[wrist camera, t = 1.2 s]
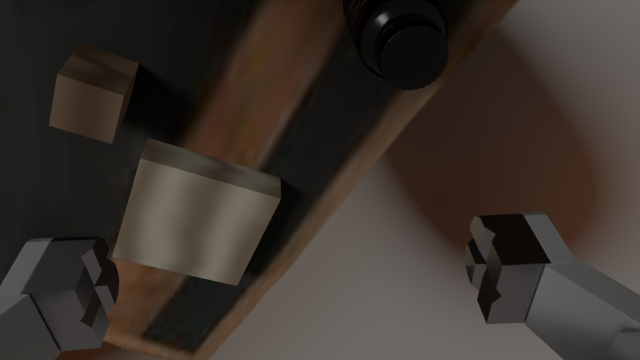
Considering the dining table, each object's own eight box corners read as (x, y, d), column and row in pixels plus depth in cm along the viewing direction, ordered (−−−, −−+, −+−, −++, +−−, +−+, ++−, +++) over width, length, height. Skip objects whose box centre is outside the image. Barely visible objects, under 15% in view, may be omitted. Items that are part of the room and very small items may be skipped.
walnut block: (71, 90, 47) (49, 125, 42) (80, 42, 44) (57, 74, 39) (127, 108, 48) (112, 144, 44) (139, 63, 46) (124, 95, 41)
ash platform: (120, 231, 58) (112, 257, 55) (148, 135, 51) (140, 158, 48) (238, 260, 62) (236, 285, 59) (280, 175, 55) (280, 198, 52)
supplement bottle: (364, 51, 46) (388, 120, 37) (327, -14, 43) (343, 44, 33) (434, 11, 45) (477, 73, 35) (401, -60, 41) (440, -13, 31)
